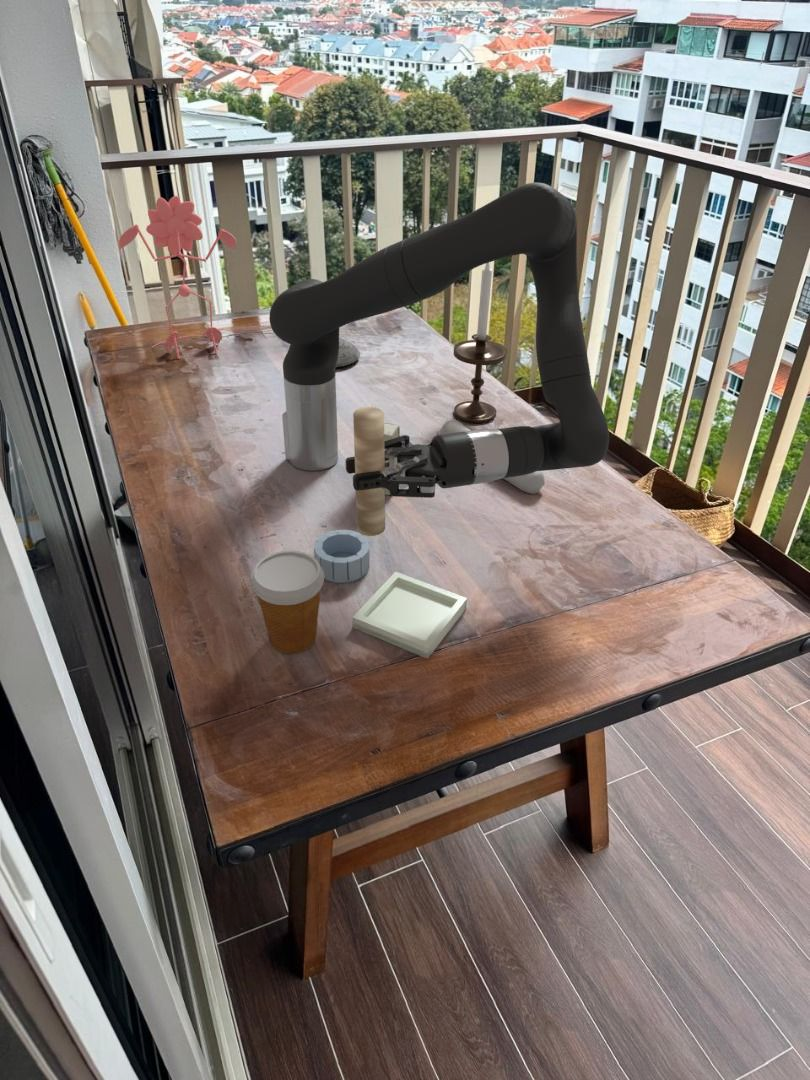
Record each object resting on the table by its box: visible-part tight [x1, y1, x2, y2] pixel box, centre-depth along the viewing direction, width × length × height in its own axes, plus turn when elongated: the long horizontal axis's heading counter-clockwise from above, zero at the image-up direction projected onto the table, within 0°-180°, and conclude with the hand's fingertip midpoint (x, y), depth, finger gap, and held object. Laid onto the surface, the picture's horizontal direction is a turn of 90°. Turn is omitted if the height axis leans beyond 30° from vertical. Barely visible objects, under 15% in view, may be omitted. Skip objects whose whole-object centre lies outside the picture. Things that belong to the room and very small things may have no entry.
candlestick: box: [452, 262, 508, 425], centre depth 151 cm, size 11×11×35 cm
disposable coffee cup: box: [250, 550, 325, 655], centre depth 101 cm, size 10×10×12 cm
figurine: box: [118, 195, 237, 360], centre depth 178 cm, size 15×26×35 cm, turn 113°
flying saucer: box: [335, 337, 361, 368], centre depth 183 cm, size 15×15×6 cm
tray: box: [352, 571, 468, 659], centre depth 108 cm, size 12×12×2 cm
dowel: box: [352, 406, 386, 537], centre depth 103 cm, size 4×4×18 cm
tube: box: [439, 418, 546, 495], centre depth 143 cm, size 5×5×25 cm
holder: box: [313, 529, 371, 584], centre depth 117 cm, size 8×8×4 cm
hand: (350, 474), depth 102 cm, fingers closed on dowel, 4 cm apart
